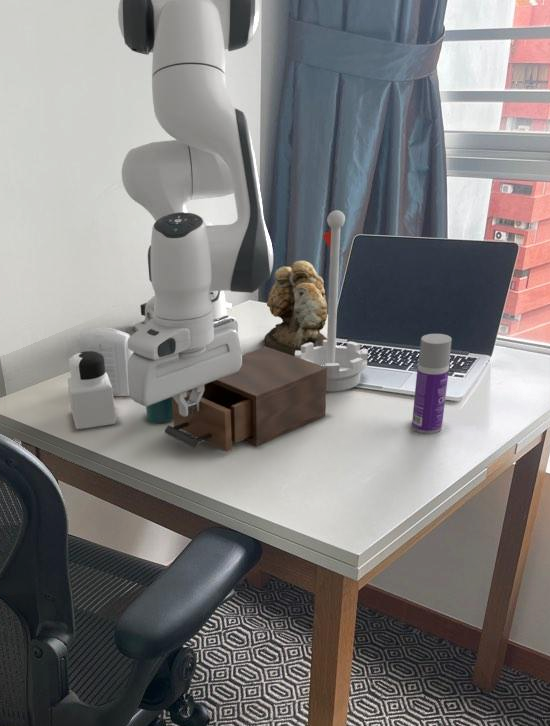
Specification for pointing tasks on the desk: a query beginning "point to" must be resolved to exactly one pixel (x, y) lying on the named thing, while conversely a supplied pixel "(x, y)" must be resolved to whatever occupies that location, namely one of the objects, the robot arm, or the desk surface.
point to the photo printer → (110, 354)
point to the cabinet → (278, 392)
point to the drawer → (214, 419)
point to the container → (431, 383)
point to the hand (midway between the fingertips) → (189, 413)
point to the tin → (160, 411)
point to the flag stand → (338, 359)
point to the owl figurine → (297, 308)
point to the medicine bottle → (90, 391)
